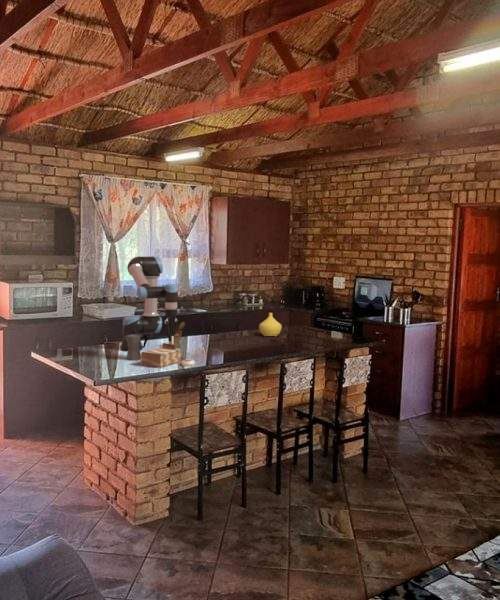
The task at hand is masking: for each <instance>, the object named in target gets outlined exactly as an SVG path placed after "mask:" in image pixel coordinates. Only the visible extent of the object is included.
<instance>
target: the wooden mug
mask: <svg viewBox="0 0 500 600" xmlns="http://www.w3.org/2000/svg"><path fill="white" fill-rule="evenodd" d="M185 326H186V323H185V321H182V322H180V323H179V325H177V330H176V334H175V336H174V341H173V344H175V345H176V349H180V348H181V343H180V340H181V338H182V334H183V333H182V330H183V329H184V328H185Z"/></svg>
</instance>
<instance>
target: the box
mask: <svg viewBox="0 0 500 600" xmlns="http://www.w3.org/2000/svg"><path fill="white" fill-rule="evenodd" d="M140 355H141V359H140V366H142V365H146V366H145V367H150V366H153V367H152V368H157V367H160V368H159V369H163V368H166V367H169V365H170V366H172V365H175V364H179V363H181V350H180V351H177V352H173V353H169V354H166V355H162V356H161V354H155V353H147V352H144V351H141V353H140ZM165 366H166V367H165ZM162 367H163V368H162Z"/></svg>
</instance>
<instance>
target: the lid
mask: <svg viewBox="0 0 500 600" xmlns="http://www.w3.org/2000/svg"><path fill="white" fill-rule="evenodd" d="M177 351H180V352H181V350H180V348H176V345H175V344H169V343H166V342H165V343H162V346H161V347H157V348H152V349H149V350H148V349H147V350H144V351H143V352H147V353H155V354H161V356H162V355H166V354H169V353H173V352H177Z"/></svg>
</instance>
